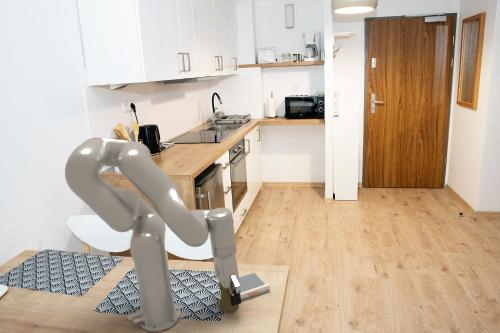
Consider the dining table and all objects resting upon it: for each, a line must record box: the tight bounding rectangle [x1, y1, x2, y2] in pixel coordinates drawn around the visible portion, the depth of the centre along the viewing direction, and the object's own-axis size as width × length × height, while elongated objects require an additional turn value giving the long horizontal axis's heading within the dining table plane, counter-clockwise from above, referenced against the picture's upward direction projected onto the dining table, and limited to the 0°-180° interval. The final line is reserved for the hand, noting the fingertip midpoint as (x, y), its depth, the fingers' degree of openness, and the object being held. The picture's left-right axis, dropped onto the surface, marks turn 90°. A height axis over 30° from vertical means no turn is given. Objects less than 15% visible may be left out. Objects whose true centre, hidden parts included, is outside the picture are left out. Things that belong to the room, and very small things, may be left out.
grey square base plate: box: [234, 272, 271, 302], centre depth 136 cm, size 12×12×2 cm
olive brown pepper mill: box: [218, 281, 240, 315], centre depth 125 cm, size 6×6×11 cm
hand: (230, 296), depth 125 cm, fingers open, 9 cm apart
